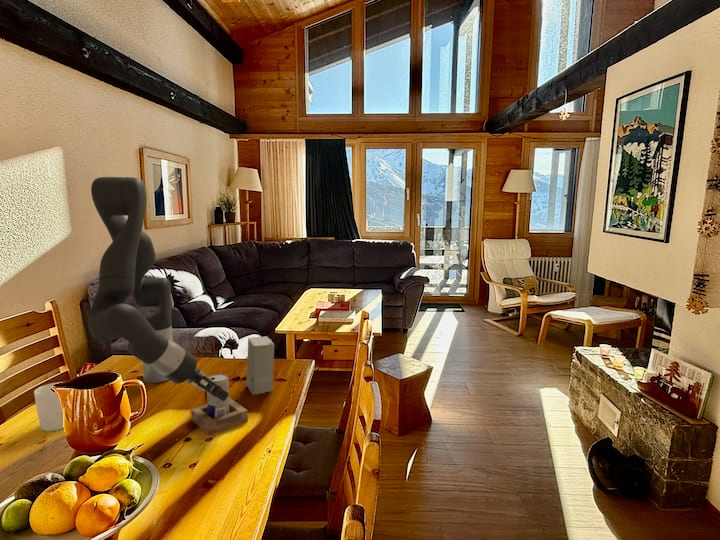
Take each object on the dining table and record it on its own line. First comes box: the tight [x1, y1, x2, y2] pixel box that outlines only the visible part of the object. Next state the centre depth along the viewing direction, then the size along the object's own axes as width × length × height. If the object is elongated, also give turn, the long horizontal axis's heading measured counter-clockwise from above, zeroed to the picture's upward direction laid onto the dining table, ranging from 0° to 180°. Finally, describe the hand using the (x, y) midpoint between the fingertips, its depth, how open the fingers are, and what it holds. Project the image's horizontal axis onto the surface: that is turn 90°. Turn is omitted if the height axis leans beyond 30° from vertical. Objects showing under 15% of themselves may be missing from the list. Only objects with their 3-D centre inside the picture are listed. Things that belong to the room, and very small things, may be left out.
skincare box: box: [246, 335, 275, 396], centre depth 131 cm, size 8×7×16 cm
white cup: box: [33, 381, 64, 432], centre depth 108 cm, size 8×8×10 cm
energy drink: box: [206, 373, 230, 419], centre depth 111 cm, size 5×5×12 cm
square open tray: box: [190, 397, 249, 436], centre depth 112 cm, size 11×11×3 cm
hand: (218, 392), depth 111 cm, fingers open, 8 cm apart
